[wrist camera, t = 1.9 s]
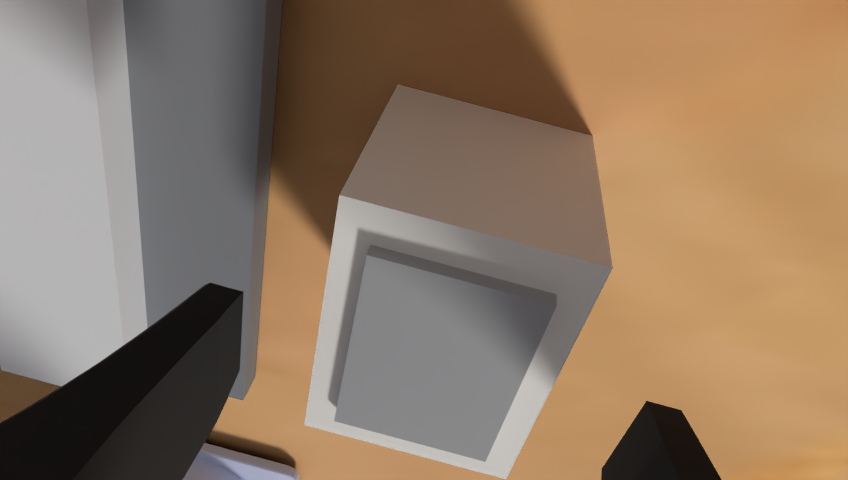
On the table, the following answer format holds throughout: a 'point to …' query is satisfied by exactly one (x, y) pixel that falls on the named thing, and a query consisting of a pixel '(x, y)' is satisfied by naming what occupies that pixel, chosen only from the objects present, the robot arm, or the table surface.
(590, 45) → the table surface
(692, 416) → the table surface
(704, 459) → the robot arm
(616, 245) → the table surface
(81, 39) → the rail board
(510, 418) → the block
